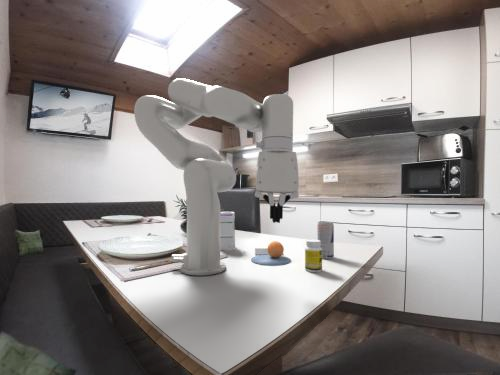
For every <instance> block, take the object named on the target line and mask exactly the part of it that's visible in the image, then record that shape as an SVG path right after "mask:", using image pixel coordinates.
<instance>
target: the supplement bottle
mask: <svg viewBox="0 0 500 375" xmlns="http://www.w3.org/2000/svg"><path fill="white" fill-rule="evenodd" d="M305 245H306V246H305V249H304V270H305V271H306V272H308V273H321V272H322V271H323V259H322V248H321V247H320V246H321V241H320V240H318V239H307V240H306V243H305Z"/></svg>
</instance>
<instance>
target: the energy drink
mask: <svg viewBox="0 0 500 375" xmlns="http://www.w3.org/2000/svg"><path fill="white" fill-rule="evenodd" d="M334 226H335V225H334V222H333V221H322V220H321V221H317V240H320V241H321V246H320V247H321V248H322V260H331V259H334V257H335V255H334V254H335V248H334V247H335V242H334V241H335V237H334V236H335V233H334V232H335V230H334V228H335V227H334Z"/></svg>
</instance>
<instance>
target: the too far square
mask: <svg viewBox="0 0 500 375" xmlns="http://www.w3.org/2000/svg"><path fill="white" fill-rule="evenodd" d="M267 248H268V247H267ZM267 248H258V247H257V248H254V253H255V254H254V256H259V255H269V254H268V250H267ZM281 256H284V253H283V254H282V255H281Z"/></svg>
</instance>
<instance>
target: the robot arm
mask: <svg viewBox="0 0 500 375" xmlns="http://www.w3.org/2000/svg"><path fill="white" fill-rule="evenodd" d="M167 94H168V97H169V99H170V100H167V99H165V98H163V97H160V96H157V95H149V94H148V95H147V94H146V95H142V96H141V97H139V98H138V99H137V100H136V102H135V103H134V109H133V110H134V111H133V112H134V114H133V115H134V120H135V123H136V126H137V128H138V130H139V131H140V133H141V134H142V136H144V138H145V139H146V140H148V142H149V143H151V144H152V145H153V146H154V147H155V148H156V149H157V150H158V152H159V153H160V154H161V155H162V156H163V157H165V160H167V161H168V162H170V164H171V165H173V167H175V169H177V170H182V171H183V185H184V189H185V196H186V252H185V253H182V254H172V255H171V261H172V262H173V263H175V264H177V263H181V266H180V271H181V273H183V274H184V275H189V276H202V277H203V276H212V275H216V274H219V273H222V272H224V271H225V270H226V266H227V265H226V263H225V262H223V261H221V250H220V213H221V203H220V201H221V200H220V198H219V195H218V193H223V192H227V191H230V190H231V189H233V187H235V185H236V181H237V174H236V171H235V168H234V167H233V166H232V165H231V163H229V162H228V161H227V160H226V159H224V157H223V156H221V155H220V154H219V153H218V152H217V151H216V150H215V149H213V148H212V147H211V146H209V145H206V144H205V143H202V142H198V141H195V140H192V139H188V138H186V137H184V135H183V134H181V133H180V132H179V131H178V130H180V129H183V128H185V127H186V126H189V125H190V124H191V123H193V122H195V121H196V120H198V119H200V118H201V117H205V118H212V117H214V118H217V119H220V120H223V121H225V122H227V123H229V124H233V125H234V126H237V127H240V128H242V129H244V130H246V131H248V132H250V133H260V132H261V135H262V136H261V139H262V140H260V141H257V142H255V143H256V144H255V146H256V149H257V148H258V149H260V150H261V151H259V152H258V155H257V160H256V162H257V163H256V174H255V192H254V197H255V198H259V199H262V200H265V202H266V203H267V204H268V205H269V219H270V220H272V221H271V222H272V223H275V224H276V223H279V224H280V222H281V220H283V218H284V217H283V212H284V210H283V209H284V208H283V207H284V205H285V204H286V203H288V202H289V200H293V199H296V198H299V197H300V195H299V191H298V190H299V189H300V188H299V185H300V182H299V164H298V163H299V161H298V156H297V155H298V154H297V152H296V151H293V149H294V143H293V141H294V139H293V138H294V100H293V98H292V97H291V96H289V95H287V94H283V93H276V94H275V93H274V94H270V95H267V96H266V97H265V98H264V99H263V102H262V103H261V102H258V101H257V100H255V99H253V97H250V96H249V95H247V94H245V93H243V92H241V91H238V90H234V89H232V88H231V89H230V88H227V87H224V86H221V85H220V86H219V85H213V86H212V85H209V84H204V83H201V82H197V81H194V80H190V79H188V78H187V79H186V78H176V79H174V80H172V81H171V82H170V83H169V85H168V88H167ZM265 193H266V194H265ZM274 194H279V197H278V202H277V203H275V196H274Z"/></svg>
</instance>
